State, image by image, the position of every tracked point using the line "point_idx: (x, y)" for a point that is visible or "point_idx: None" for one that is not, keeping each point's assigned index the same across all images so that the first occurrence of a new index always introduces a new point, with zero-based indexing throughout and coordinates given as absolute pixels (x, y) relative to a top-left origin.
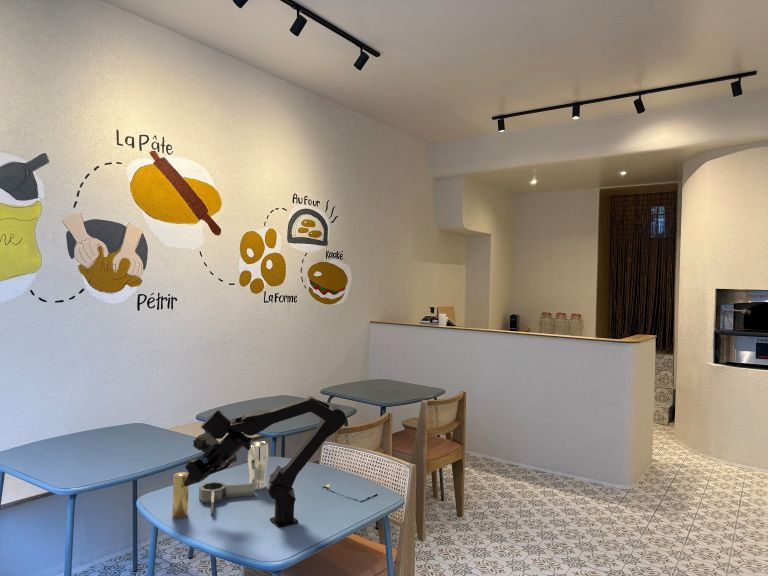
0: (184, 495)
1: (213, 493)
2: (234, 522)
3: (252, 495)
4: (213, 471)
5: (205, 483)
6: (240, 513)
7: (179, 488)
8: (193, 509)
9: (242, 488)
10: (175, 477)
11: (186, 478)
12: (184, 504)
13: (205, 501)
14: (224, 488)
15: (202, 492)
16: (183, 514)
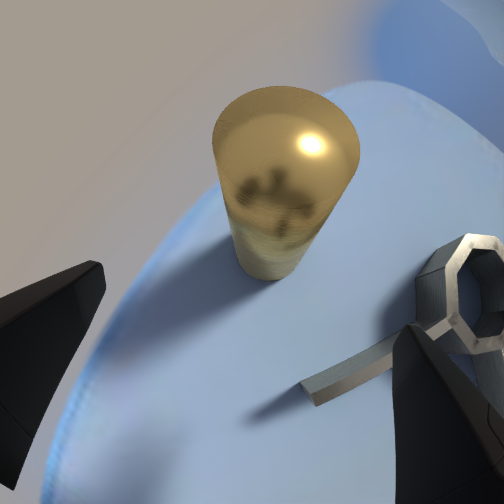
0: (247, 248)
1: None
2: (243, 494)
3: None
4: (403, 457)
5: (498, 243)
6: (335, 483)
7: (224, 201)
8: (345, 275)
9: (501, 404)
10: (219, 121)
11: (21, 291)
12: (250, 263)
13: (419, 292)
14: (485, 351)
15: (439, 268)
16: (248, 271)
